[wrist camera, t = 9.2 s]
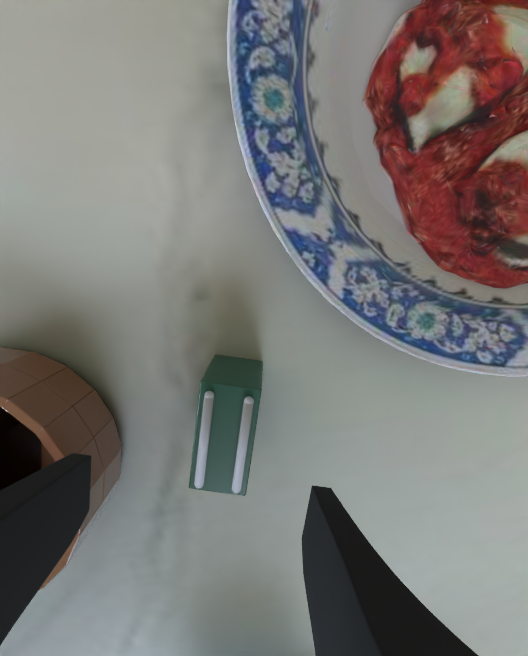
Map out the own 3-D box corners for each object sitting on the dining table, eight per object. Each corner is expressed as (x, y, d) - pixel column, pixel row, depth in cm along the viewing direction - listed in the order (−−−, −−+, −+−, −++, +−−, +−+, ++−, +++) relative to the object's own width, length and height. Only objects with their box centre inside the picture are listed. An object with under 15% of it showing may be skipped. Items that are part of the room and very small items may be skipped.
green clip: (250, 447, 18) (244, 503, 14) (204, 441, 18) (186, 495, 14) (263, 361, 17) (261, 393, 13) (215, 354, 17) (198, 384, 13)
